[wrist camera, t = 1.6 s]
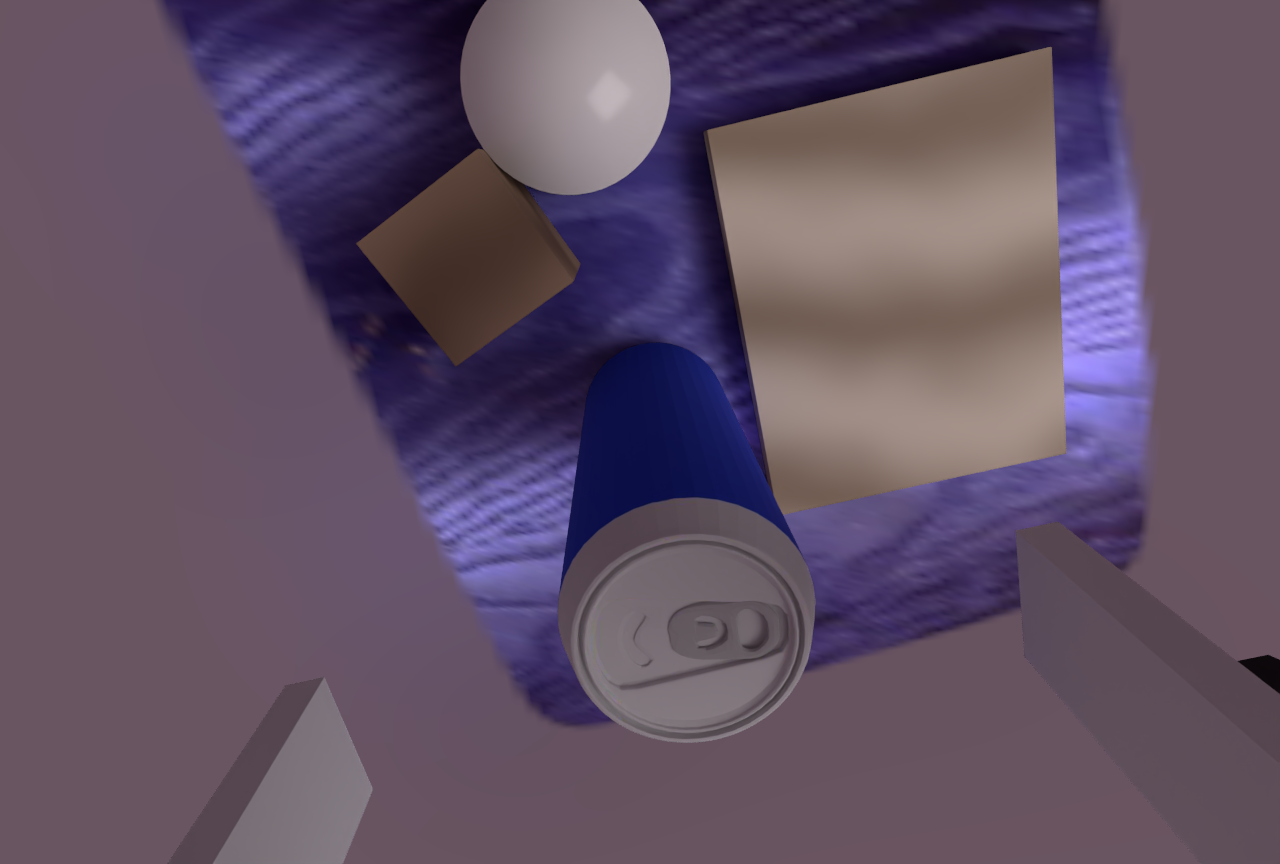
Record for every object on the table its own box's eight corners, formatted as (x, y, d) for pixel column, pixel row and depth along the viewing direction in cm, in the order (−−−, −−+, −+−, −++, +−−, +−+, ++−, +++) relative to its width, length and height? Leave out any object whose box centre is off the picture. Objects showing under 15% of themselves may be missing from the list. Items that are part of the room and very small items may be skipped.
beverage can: (595, 476, 29) (573, 767, 15) (577, 347, 27) (533, 537, 13) (727, 461, 29) (831, 739, 15) (717, 331, 27) (825, 504, 13)
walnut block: (398, 231, 26) (356, 243, 22) (500, 152, 25) (477, 148, 21) (481, 335, 27) (456, 366, 23) (580, 263, 26) (573, 281, 22)
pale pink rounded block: (458, 17, 24) (433, -7, 20) (641, -28, 24) (645, -60, 20) (509, 209, 26) (493, 215, 22) (679, 169, 25) (689, 169, 22)
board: (703, 131, 25) (706, 129, 24) (1031, 52, 24) (1051, 46, 23) (771, 502, 30) (777, 515, 28) (1048, 442, 29) (1066, 453, 28)
